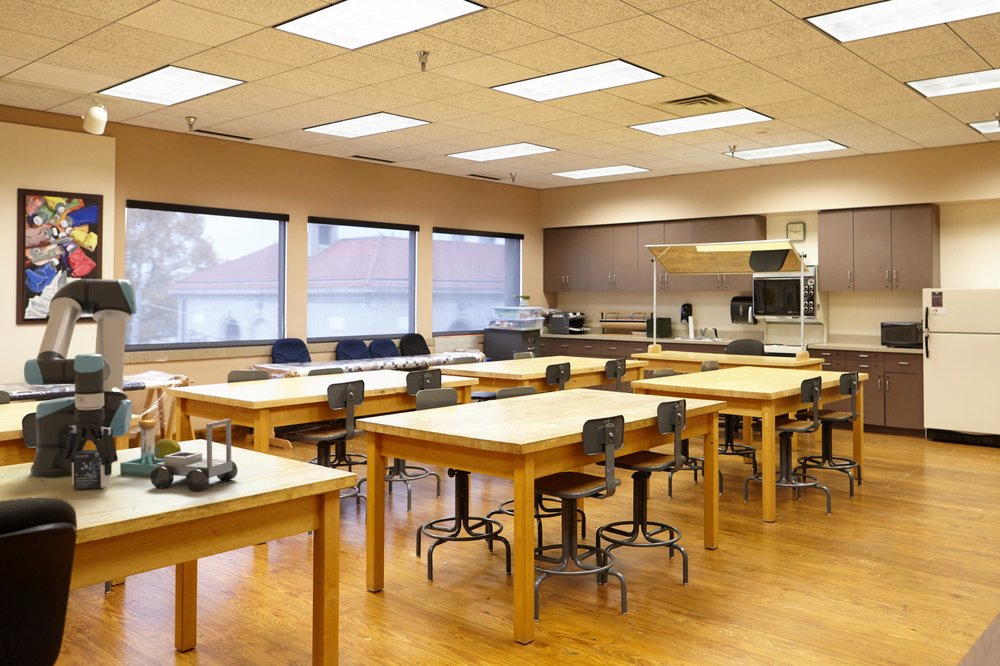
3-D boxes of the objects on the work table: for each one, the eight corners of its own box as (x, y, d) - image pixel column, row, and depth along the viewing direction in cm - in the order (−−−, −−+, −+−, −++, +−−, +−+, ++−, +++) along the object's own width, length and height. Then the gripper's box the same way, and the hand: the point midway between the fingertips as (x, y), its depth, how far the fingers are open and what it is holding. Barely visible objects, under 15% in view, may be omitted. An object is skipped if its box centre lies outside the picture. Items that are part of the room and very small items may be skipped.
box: (73, 490, 229) (72, 453, 228) (78, 485, 234) (78, 449, 234) (103, 488, 231) (103, 452, 230) (108, 484, 236) (107, 448, 236)
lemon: (148, 461, 270) (148, 438, 269) (171, 458, 275) (170, 435, 275) (163, 466, 262) (162, 442, 262) (186, 463, 268) (186, 439, 268)
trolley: (150, 487, 233) (149, 422, 232) (187, 476, 248) (186, 414, 248) (203, 492, 228) (202, 425, 227) (237, 480, 243) (237, 417, 242)
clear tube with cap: (135, 470, 251) (134, 422, 251) (146, 467, 256) (146, 419, 256) (148, 471, 250) (148, 422, 249) (160, 468, 255) (160, 420, 254)
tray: (120, 474, 251) (120, 463, 251) (141, 468, 259) (140, 457, 259) (155, 477, 247) (155, 465, 247) (175, 471, 256) (174, 460, 255)
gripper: (48, 407, 231) (49, 485, 232) (112, 411, 225) (113, 490, 226) (68, 404, 238) (70, 479, 239) (131, 407, 232) (132, 484, 233)
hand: (91, 485), depth 233 cm, fingers closed on box, 9 cm apart
